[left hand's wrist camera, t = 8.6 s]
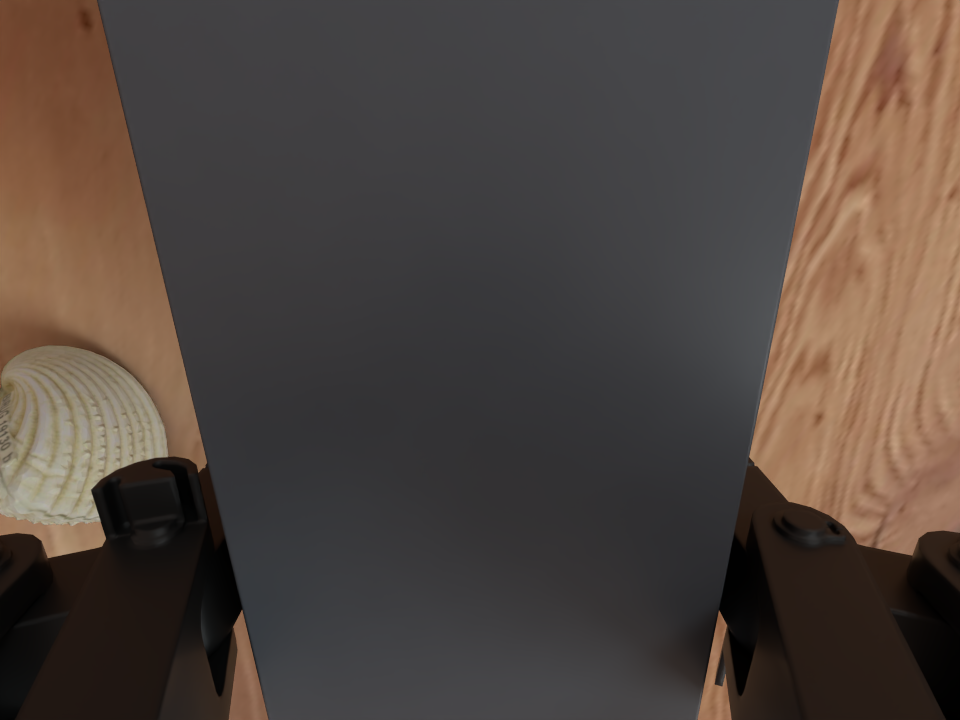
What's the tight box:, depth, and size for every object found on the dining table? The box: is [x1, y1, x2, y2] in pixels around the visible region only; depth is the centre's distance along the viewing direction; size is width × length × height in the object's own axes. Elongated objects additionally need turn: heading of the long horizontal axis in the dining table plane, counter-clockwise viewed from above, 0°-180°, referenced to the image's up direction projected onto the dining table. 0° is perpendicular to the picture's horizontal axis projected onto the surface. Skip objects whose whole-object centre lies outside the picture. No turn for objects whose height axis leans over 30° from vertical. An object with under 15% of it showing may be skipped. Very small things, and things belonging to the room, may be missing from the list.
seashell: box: [0, 345, 168, 526], centre depth 25 cm, size 8×8×8 cm
